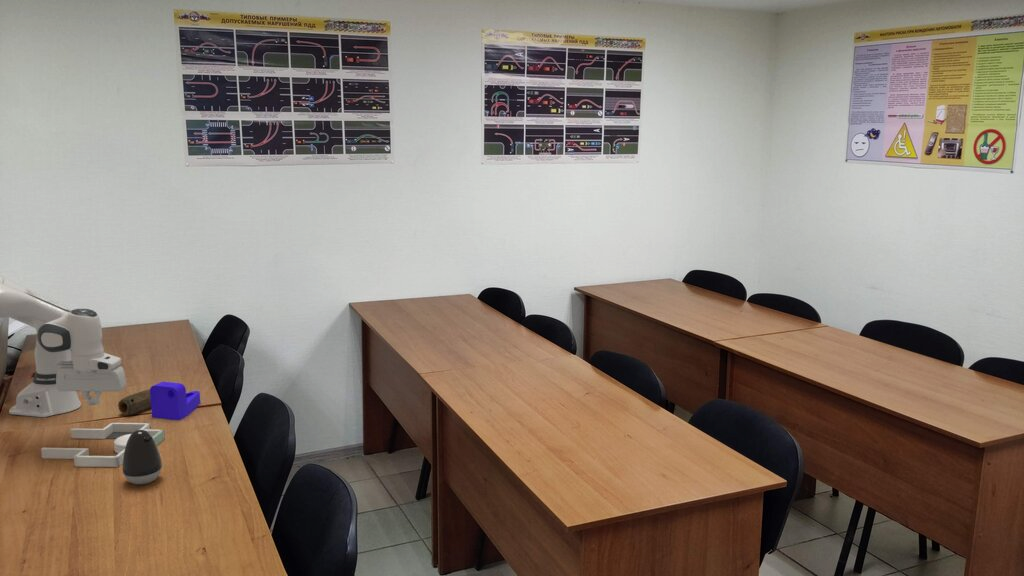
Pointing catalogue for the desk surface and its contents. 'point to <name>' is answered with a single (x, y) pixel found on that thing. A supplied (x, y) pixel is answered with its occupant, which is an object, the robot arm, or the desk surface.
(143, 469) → the dark grey egg shape
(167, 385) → the bracket
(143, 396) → the brown hollow cylinder
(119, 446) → the coaster
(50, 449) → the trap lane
